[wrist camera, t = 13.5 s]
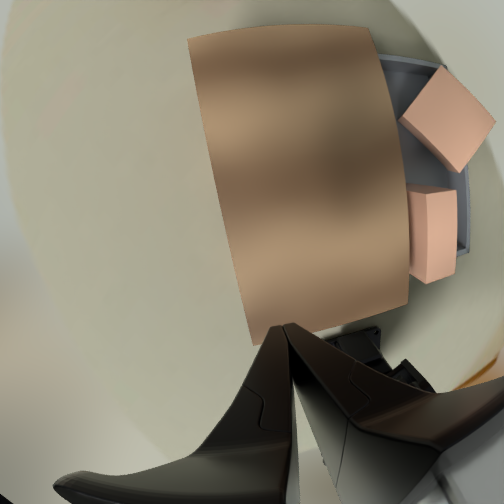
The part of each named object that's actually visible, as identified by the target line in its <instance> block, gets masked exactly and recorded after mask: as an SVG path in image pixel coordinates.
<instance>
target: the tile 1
mask: <svg viewBox="0 0 504 504" xmlns="http://www.w3.org/2000/svg"><path fill="white" fill-rule="evenodd" d="M406 192H407V204H408V219H409V273H410V274H411V275H413V276H414V277H416V278H417V279H419V280H420V281H422V282H423V283H425V284H428V283H431V282H434V281H436V280H439V279H442V278H445V277H447V276H450V275H453V274H455V265H456V251H457V192H456V190H453V189H447V188H441V187H434V186H427V185H420V184H412V183H406Z"/></svg>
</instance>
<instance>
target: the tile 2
mask: <svg viewBox="0 0 504 504" xmlns="http://www.w3.org/2000/svg"><path fill="white" fill-rule="evenodd" d="M397 121H398V122H400V123H401V124H402V125H403V126H404V127H405V128H406V129H407V130H409V131H410V132H411V133H412V134H413V135H414V136H415V137H416V138H417V139H418V140H419V141H420V142H421V143H422V144H423V145H424V146H425V147H426V148H427V149H428V150H429V151H430V152H431V153H432V154H433V155H434V156H435V157H436V158H437V159H438V160H439V161H440V162H441V163H442V164H443V165H444V166H445V167H446V168H447V170H448V171H453V172H457V173H460V172H461V171H462V169H463V168H464V167H465V165H466V164H467V163H468V161H469V160H470V159H471V157H472V156H473V155H474V153H475V152H476V151H477V149H478V148H479V146H480V145H481V143H482V142H483V141H484V139H485V138H486V136H487V135H488V133H489V132H490V130H491V129H492V127H493V126H494V124H495V123H496V121H495V120H494V118H493V117H492V116H491V115H490V113H489V112H488V111H487V110H486V109H485V108H484V107H483V105H481V103H480V102H479V101H478V100H477V99H476V98H475V97H474V96H473V95H472V94H471V93H470V92H469V91H468V90H467V89H466V88H465V87H464V86H463V85H462V84H461V83H460V82H459V81H458V80H457V79H456V78H455V77H454V76H453V75H452V74H451V73H450V72H448V71H447V70H446V69H445V68H444V67H443V66H442V65H441V66H440V67H439V68H438V69H437V70H436V72H435V73H434V74H433V75H432V76H431V78H430V79H429V80H428V82H427V83H426V84H425V86H424V87H423V88H422V90H421V91H420V92H419V93H418V95H417V96H416V97H415V99H414V100H413V101H412V103H411V104H410V105H409V106H408V108H407V109H406V110H405V112H404V113H403V114H402V115H401V117H400V118H399V119H398V120H397Z"/></svg>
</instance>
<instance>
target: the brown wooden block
mask: <svg viewBox="0 0 504 504" xmlns="http://www.w3.org/2000/svg"><path fill="white" fill-rule="evenodd" d="M187 41H188V47H189V52H190V58H191V63H192V69H193V74H194V80H195V85H196V90H197V95H198V101H199V106H200V111H201V116H202V121H203V126H204V131H205V136H206V141H207V146H208V151H209V155H210V160H211V165H212V170H213V174H214V179H215V184H216V188H217V193H218V198H219V202H220V207H221V211H222V216H223V220H224V225H225V229H226V234H227V238H228V243H229V247H230V251H231V256H232V260H233V264H234V269H235V273H236V277H237V281H238V286H239V290H240V294H241V298H242V302H243V306H244V311H245V315H246V319H247V323H248V327H249V331H250V335H251V339H252V343H253V346H254V345H259V344H262V343H263V340H264V338H265V336H266V334H267V332H268V330H269V328H270V327H271V326H277V325H282V326H283V324H287V323H292V322H294V323H296V324H298V325H299V326H301V327H303V328H304V329H306V330H307V331H309V332H311V333H313V332H317V331H321V330H324V329H328V328H332V327H336V326H339V325H343V324H346V323H350V322H353V321H357V320H360V319H363V318H367V317H370V316H373V315H376V314H379V313H382V312H386V311H389V310H392V309H395V308H397V307H400V306H403V305H406V304H408V292H409V219H408V204H407V192H406V182H405V174H404V166H403V159H402V152H401V146H400V141H399V135H398V130H397V125H396V120H395V115H394V111H393V106H392V102H391V98H390V94H389V91H388V87H387V83H386V80H385V76H384V73H383V69H382V66H381V63H380V60H379V57H378V54H377V51H376V48H375V45H374V43H373V40H372V37H371V35H370V32H369V29H368V28H365V27H355V26H344V25H325V24H291V25H272V26H260V27H251V28H243V29H236V30H229V31H223V32H217V33H212V34H207V35H202V36H198V37H193V38H189V39H187Z"/></svg>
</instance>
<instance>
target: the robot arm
mask: <svg viewBox="0 0 504 504" xmlns="http://www.w3.org/2000/svg"><path fill="white" fill-rule="evenodd" d="M375 331H376V332H375ZM374 332H375V333H374ZM380 337H381V330H380V328H379V327H377V326H375V327H372V328H368V329H365V330H362V331H359V332H356V333H352V334H349V335H345V336H342V337H338V338H335V339H331V340H328V341H324V340H322V339H320V338H319V337H317V336H316V335H314V334H312V333H311V332H309V331H307V330H306V329H304V328H303V327H301V326H299V325H298V324H296V323H294V322H292V323H287V324H283V326H282V325H277V326H271V327H270V328H269V330H268V332H267V334H266V336H265V338H264V340H263V343H262V345H261V347H260V349H259V351H258V353H257V355H256V357H255V359H254V361H253V363H252V365H251V368H250V370H249V372H248V374H247V376H246V378H245V380H244V382H243V384H242V386H241V387H240V389H239V391H238V393H237V395H236V397H235V399H234V401H233V402H232V404H231V406H230V407H229V409H228V410H227V411H226V413H225V414H224V416H223V417H222V418H221V420H220V421H219V422H218V424H217V425H216V426H215V428H214V429H213V430H212V432H211V433H210V434H209V435H208V437H207V438H206V439H205V440H204V442H203V443H202V444H201V445H200V446H199V448H198V449H196V450H195V451H194V452H193V453H192V454H190V455H189V456H187V457H185V458H182V459H179V460H177V461H174V462H171V463H168V464H165V465H161V466H158V467H155V468H152V469H148V470H145V471H141V472H138V473H133V474H128V475H120V476H110V475H103V474H98V473H93V472H89V471H78V472H74V473H70V474H67V475H65V476H63V477H61V478H59V479H58V480H57V481H56V482H55V483H54V484H53V488H54V490H55V491H56V492H57V493H58V494H59V495H60V496H61V497H63V498H64V499H65V500H67V501H69V502H70V503H71V504H300V489H299V488H300V487H299V463H298V444H297V427H296V412H295V398H294V386H295V389H296V392H297V394H298V397H299V399H300V402H301V404H302V407H303V409H304V412H305V414H306V417H307V419H308V422H309V424H310V427H311V429H312V432H313V434H314V437H315V439H316V442H317V444H318V447H319V449H320V451H321V455H322V457H323V463H324V465H326V466H327V469H328V471H329V473H330V476H331V479H332V481H333V484H334V486H335V488H336V491H337V493H338V496H339V498H340V501H341V503H342V504H504V376H502V377H500V378H497V379H494V380H491V381H488V382H484V383H481V384H478V385H474V386H470V387H467V388H463V389H459V390H455V391H450V392H446V393H436V392H435V391H434V389H433V388H432V386H431V385H430V384H429V383H428V381H427V380H426V379H425V378H424V377H423V376H422V375H421V374H420V373H419V372H418V371H417V370H416V369H415V368H414V367H413V365H412V364H411V363H410V362H409V361H408V360H407V359H406V358H405V359H404V360H403V361H402V362H401V364H400V365H398V366H397V367H396V368H394V369H392V368H391V367H390V365H389V364H388V363H387V361H386V360H385V358H384V357H383V355H382V353H381V352H380ZM293 383H294V386H293ZM0 504H13V503H12V502H10V501H9V500H8V499H6V498H5V497H4V496H2V495H1V494H0Z"/></svg>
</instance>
